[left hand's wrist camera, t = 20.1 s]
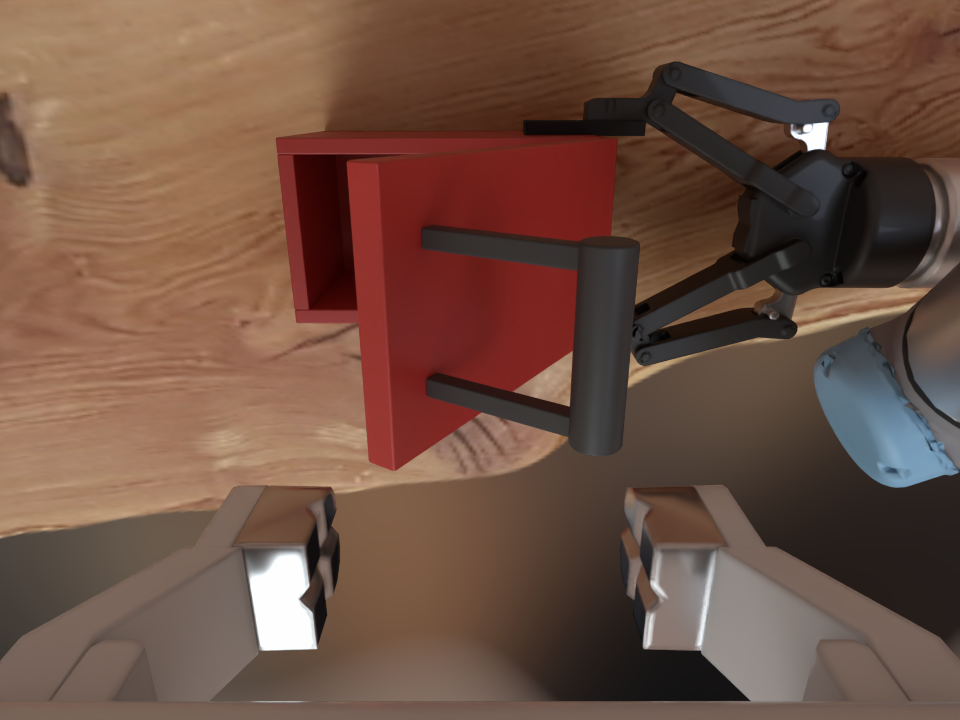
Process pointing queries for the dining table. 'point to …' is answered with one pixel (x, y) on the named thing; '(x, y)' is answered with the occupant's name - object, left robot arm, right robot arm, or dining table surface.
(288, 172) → the chest
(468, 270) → the lid
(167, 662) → the left robot arm
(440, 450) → the dining table surface
